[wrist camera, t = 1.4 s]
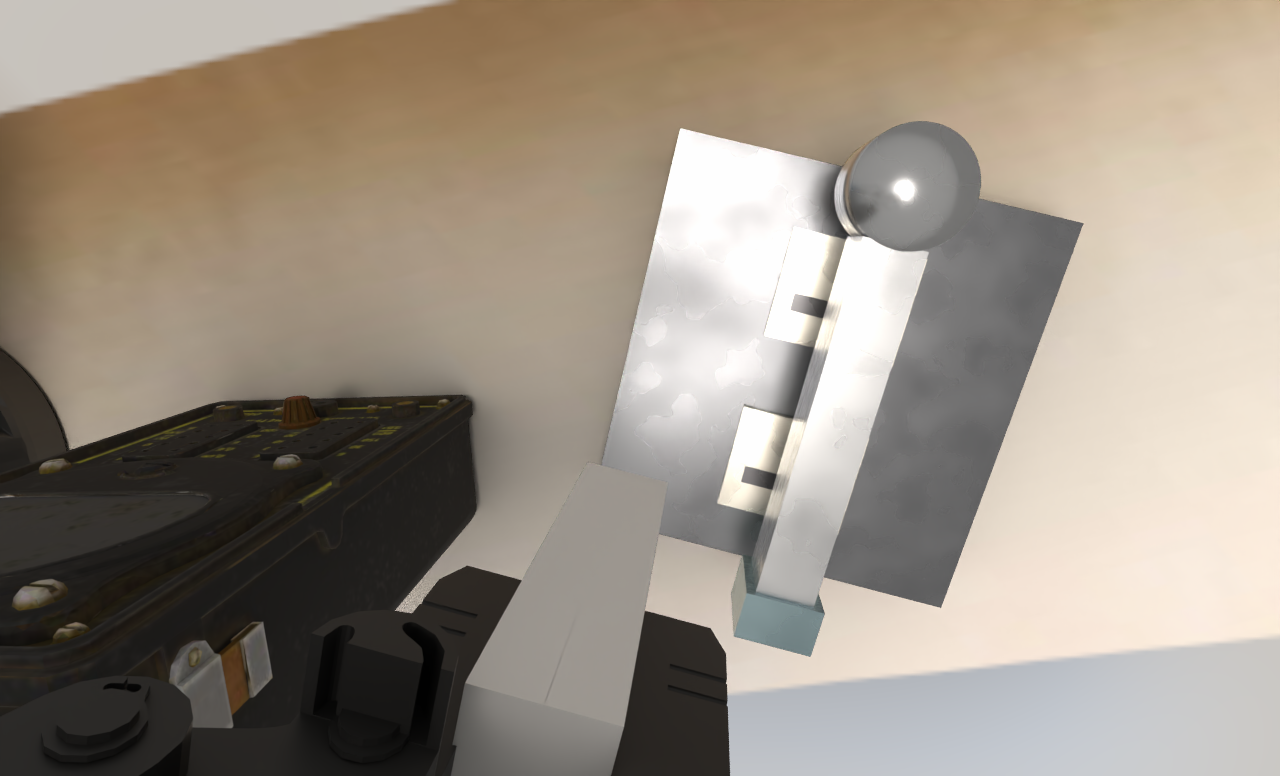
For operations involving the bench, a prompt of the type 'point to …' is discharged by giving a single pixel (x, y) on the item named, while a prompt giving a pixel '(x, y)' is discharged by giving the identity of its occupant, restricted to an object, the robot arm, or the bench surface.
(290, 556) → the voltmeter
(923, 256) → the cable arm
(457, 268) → the bench surface
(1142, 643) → the bench surface
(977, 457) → the grey slotted box
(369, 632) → the robot arm
